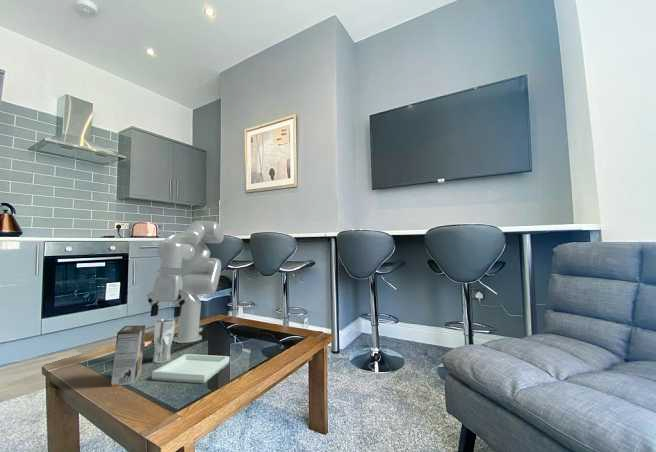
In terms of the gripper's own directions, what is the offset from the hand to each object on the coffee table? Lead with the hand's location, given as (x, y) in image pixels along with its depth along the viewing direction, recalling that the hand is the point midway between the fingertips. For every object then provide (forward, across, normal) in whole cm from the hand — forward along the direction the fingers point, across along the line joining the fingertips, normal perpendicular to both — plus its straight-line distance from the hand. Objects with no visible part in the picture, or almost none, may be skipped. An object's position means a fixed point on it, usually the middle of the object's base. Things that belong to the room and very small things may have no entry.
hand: (165, 316), depth 109 cm
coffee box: (+17, +1, -17) cm, 24 cm away
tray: (+17, +18, -7) cm, 26 cm away
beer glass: (+17, 0, +1) cm, 17 cm away
